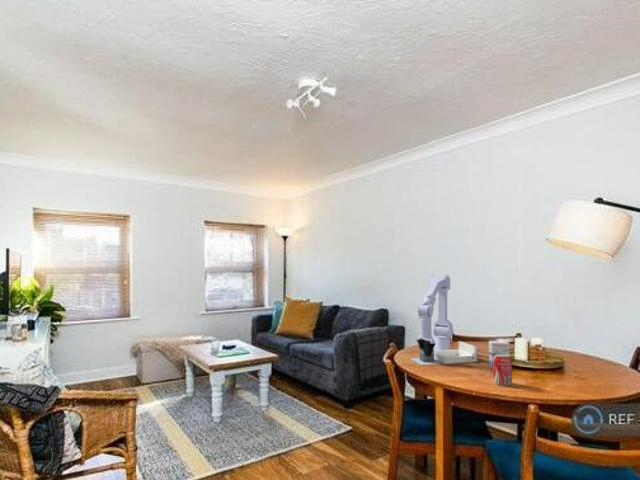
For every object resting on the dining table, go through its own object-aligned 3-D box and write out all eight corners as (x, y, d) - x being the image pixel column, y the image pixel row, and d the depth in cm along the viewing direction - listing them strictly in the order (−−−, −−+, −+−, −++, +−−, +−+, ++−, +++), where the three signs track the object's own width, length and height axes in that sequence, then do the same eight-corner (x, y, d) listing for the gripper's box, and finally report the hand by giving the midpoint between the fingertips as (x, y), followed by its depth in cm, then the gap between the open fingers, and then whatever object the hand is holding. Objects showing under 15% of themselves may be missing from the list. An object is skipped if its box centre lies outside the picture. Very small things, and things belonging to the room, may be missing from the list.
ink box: (492, 367, 192) (491, 342, 192) (488, 364, 197) (488, 340, 197) (510, 367, 191) (509, 343, 192) (506, 365, 196) (506, 341, 197)
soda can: (496, 380, 170) (495, 352, 171) (514, 383, 166) (513, 354, 166) (491, 384, 165) (491, 355, 166) (509, 387, 160) (509, 357, 161)
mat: (410, 359, 207) (410, 358, 207) (429, 358, 210) (429, 357, 210) (422, 365, 194) (422, 364, 194) (442, 364, 197) (442, 363, 197)
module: (419, 360, 203) (419, 348, 204) (430, 359, 205) (430, 347, 205) (423, 362, 199) (423, 350, 200) (434, 361, 201) (434, 349, 201)
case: (430, 357, 211) (429, 342, 211) (459, 355, 215) (459, 340, 216) (447, 365, 194) (447, 349, 195) (479, 363, 199) (479, 347, 199)
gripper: (412, 326, 209) (412, 352, 208) (425, 331, 195) (426, 358, 194) (424, 325, 211) (424, 351, 210) (438, 330, 197) (438, 358, 196)
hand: (426, 355), depth 202 cm, fingers open, 5 cm apart
